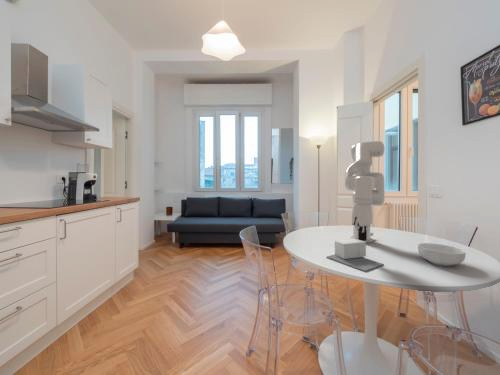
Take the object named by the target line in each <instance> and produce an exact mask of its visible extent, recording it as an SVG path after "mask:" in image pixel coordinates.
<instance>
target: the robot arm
mask: <svg viewBox="0 0 500 375" xmlns="http://www.w3.org/2000/svg"><path fill="white" fill-rule="evenodd" d="M384 154H385V145H384V142H382V141H377V140H376V141H374V140H373V141H362V142H359V143H355V144H353V145H352V146H351V148H350V156H351V158H352V160H353V162H352V163H351V164H350V165H349V166H348V167H347V169H346V170H345V175H344V176H345V177H344V187H345V189H346V190H347V191H353V192H352V195H351V196H352V197H351V198H352V204H353V208H352V214H351V225H352V226H353V228H352V230H353V231H352V232H353V233H352V236H350V240H351V239H357V240H360V241H364V242H366V244H367V243H368V244H371V243H372V242H373V241H374V239H373V238H372V237H373V236H374V233H373V232H371V225H372V224H373V206H377V207H380V206H383V205H384V204H385V177H384V174H383V173H382V172H375V171H374V172H373V171H371V167H372V165H373V158H380V157H383V156H384Z"/></svg>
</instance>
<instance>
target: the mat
mask: <svg viewBox="0 0 500 375" xmlns="http://www.w3.org/2000/svg"><path fill="white" fill-rule="evenodd" d="M326 258H327V259H328V258H329V260H332V261H335V262H336V263H340V264H343V265H345V266H348V267H350V268H353V269H356V270H359V271H362V272H363V273H367V272H370V271H372V270H375V269H377V268H380V267H383V266H384V263H382V262H379V261H375V260H374V259H373V260H372V259H369V258H366V257H358V258H350V259H343V258H340V257H338V256H336V255H335V253H334V254H331V255H329V256H328V255H327V256H326Z"/></svg>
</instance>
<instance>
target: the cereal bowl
mask: <svg viewBox="0 0 500 375" xmlns="http://www.w3.org/2000/svg"><path fill="white" fill-rule="evenodd" d="M417 247H418V248H417V249H418V251H417V252H418V254H419V255H420V256H421V257H422V258H423V259H426V260H427V261H429V262H430V263H431V264H433V265H437V266H441V267H451V266H454V265H455V266H456V265H459V264H462V263H463V262H464V261H465V259H466V254H467V252H466V251H465V250H464V249H461V248H459V247H455V246H452V245H447V244H441V243H440V244H439V243H432V242H431V243H429V242H428V243H427V242H425V243H424V242H423V243H419V244H418V245H417Z"/></svg>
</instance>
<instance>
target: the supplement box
mask: <svg viewBox="0 0 500 375" xmlns="http://www.w3.org/2000/svg"><path fill="white" fill-rule="evenodd" d="M366 244H367V243H366V242H364V241H360V240H357V239H351V238H350V239H343V240H334V254H335V255H336V256H338V257H340V258H343V259H350V258H358V257H363V258H366V257H367V245H366Z"/></svg>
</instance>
